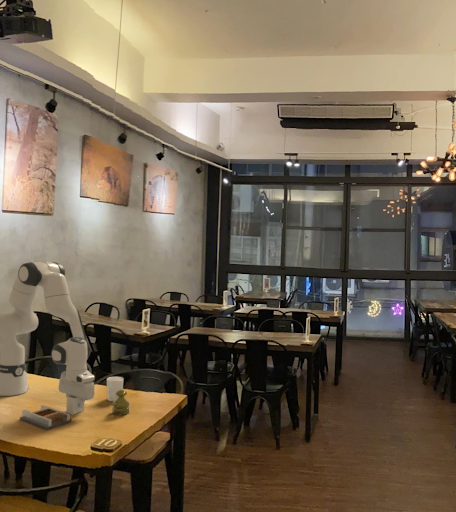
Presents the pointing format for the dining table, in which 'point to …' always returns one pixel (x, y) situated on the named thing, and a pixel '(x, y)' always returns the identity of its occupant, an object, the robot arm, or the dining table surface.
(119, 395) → the olive green tiered piece
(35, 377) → the dining table surface
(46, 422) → the rail plate
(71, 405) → the block
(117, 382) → the white cup
